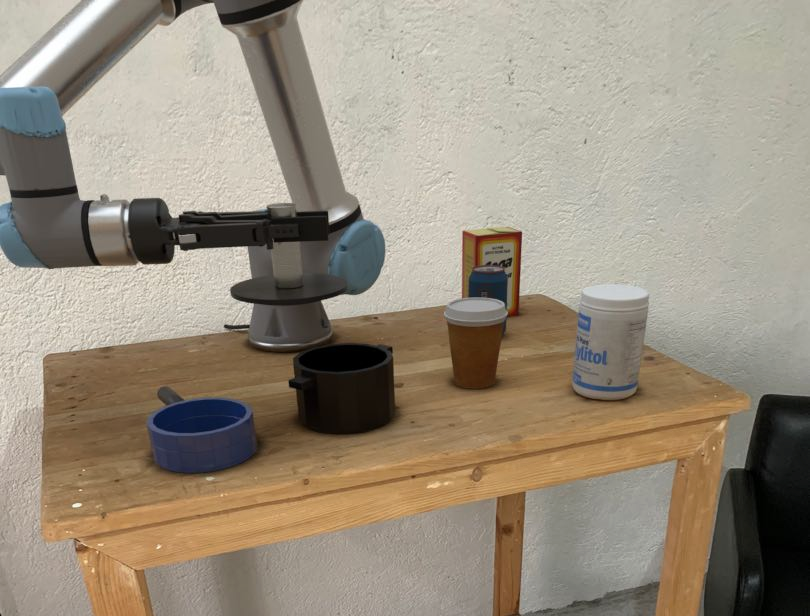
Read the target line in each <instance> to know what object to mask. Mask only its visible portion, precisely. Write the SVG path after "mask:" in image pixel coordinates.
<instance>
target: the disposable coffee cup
mask: <svg viewBox="0 0 810 616" xmlns="http://www.w3.org/2000/svg"><path fill="white" fill-rule="evenodd" d="M507 314H508V312H507V311H506V309H505V304H504V302H502V301H500V300H497V299H491V298H479V297H474V298H462V297H461V298H457V299H453V300H450V301H449V302H447V304H446V308H445V310H444V312H443V316H444V319H445V322H446V324H447V331H448V341H449V348H450V358H451V364H452V365H451V366H452V373H453V382H454V384H455V386H457V387H459V388H464V389H473V390H475V389H485V388H489V387H492V386H493V385H494V384H495V382H496V376H497V371H498V363H499V357H500V349H501V343H502V337H503V335H502V331H503V325H504V321H505V319H506V320H507V317H508V316H507ZM506 316H507V317H506Z"/></svg>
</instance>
